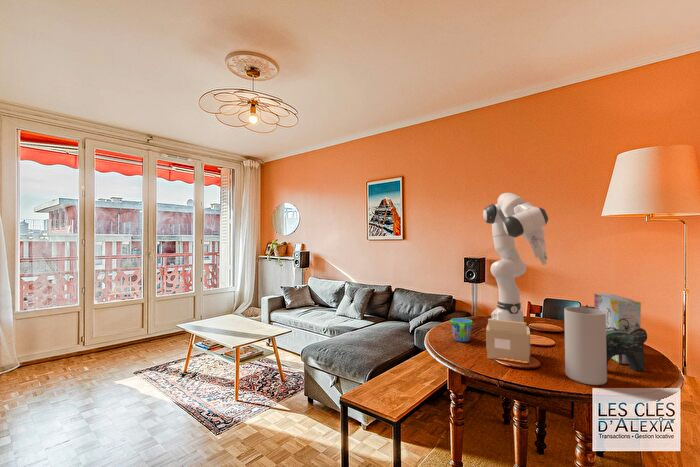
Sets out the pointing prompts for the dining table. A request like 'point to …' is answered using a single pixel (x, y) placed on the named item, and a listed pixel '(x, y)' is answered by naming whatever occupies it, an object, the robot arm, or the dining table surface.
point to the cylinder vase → (585, 345)
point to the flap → (507, 326)
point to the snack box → (618, 314)
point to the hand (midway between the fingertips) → (545, 261)
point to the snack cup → (461, 329)
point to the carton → (508, 344)
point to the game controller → (627, 345)
